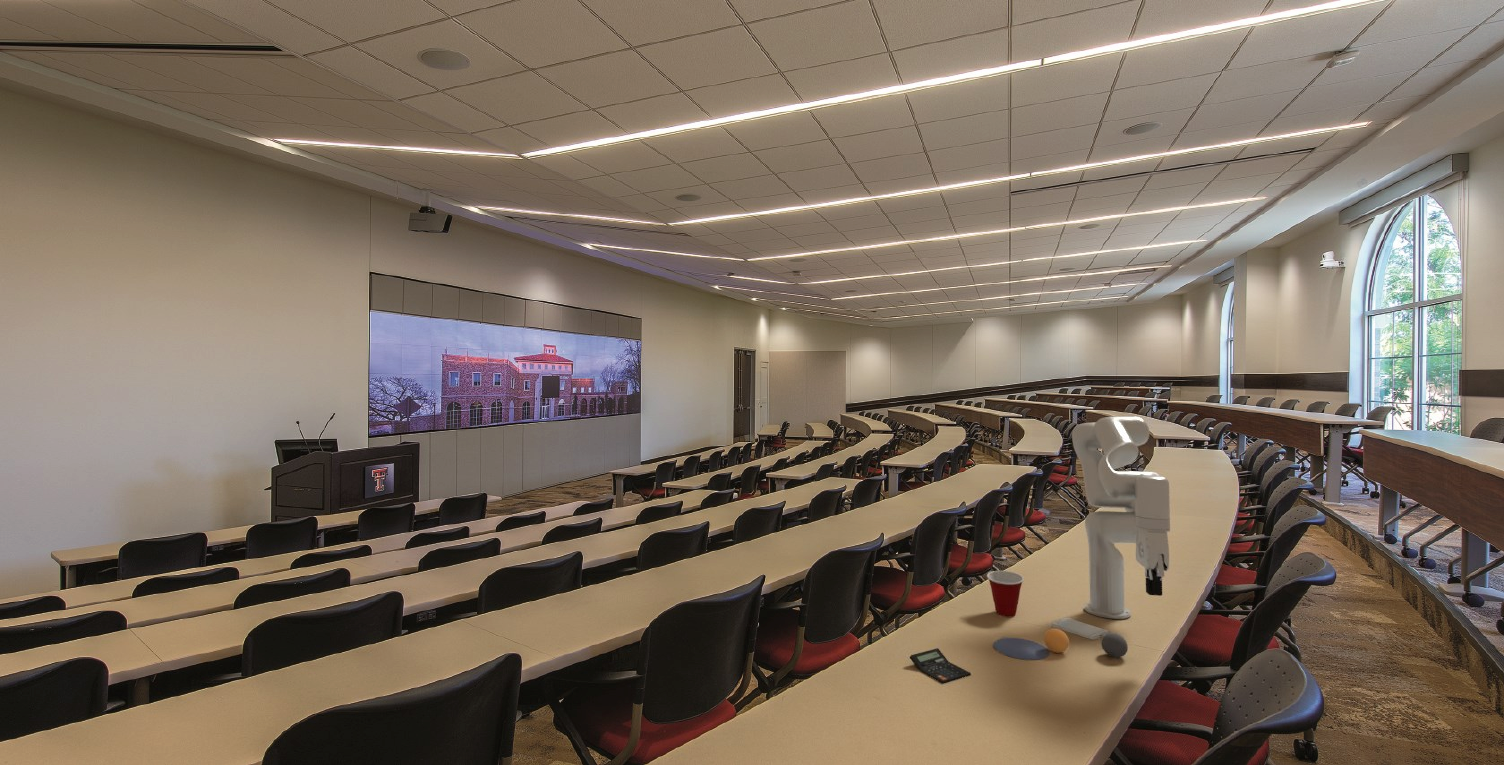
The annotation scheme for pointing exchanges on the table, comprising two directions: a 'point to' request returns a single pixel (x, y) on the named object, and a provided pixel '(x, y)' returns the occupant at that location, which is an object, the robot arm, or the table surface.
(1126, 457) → the robot arm
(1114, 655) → the gray ball
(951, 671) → the calculator
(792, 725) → the table surface
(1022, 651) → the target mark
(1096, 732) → the table surface
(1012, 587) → the plastic cup
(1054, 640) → the object ball
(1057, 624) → the hard drive
